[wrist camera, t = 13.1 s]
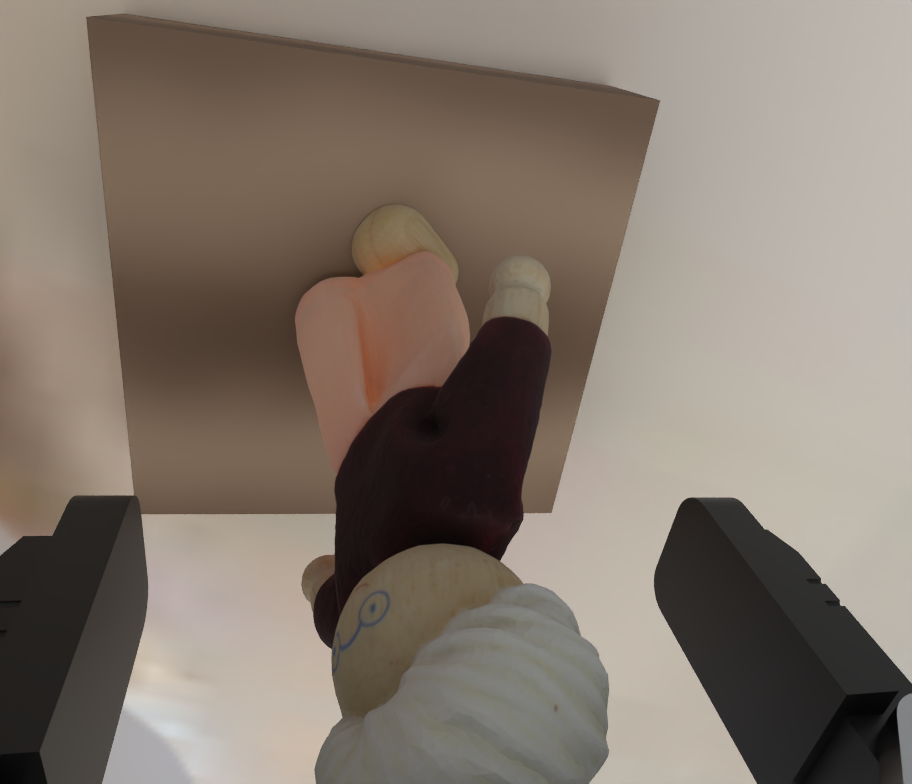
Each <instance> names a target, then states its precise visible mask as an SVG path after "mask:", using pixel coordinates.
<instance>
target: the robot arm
mask: <svg viewBox="0 0 912 784" xmlns="http://www.w3.org/2000/svg"><path fill="white" fill-rule="evenodd" d="M654 590H655V596H656V600H657V603H658V606H659V608H660V610H661V612H662V614H663V616H664V618H665V619H666V621H667V623H668V625H669V627H670V628H671V630H672V632H673V634H674V636H675V637H676V639H677V641H678V643H679V644H680V646H681V648H682V650H683V652H684V653H685V655H686V657H687V659H688V661H689V662H690V664H691V666H692V668H693V670H694V671H695V673H696V675H697V677H698V678H699V680H700V682H701V684H702V686H703V687H704V689H705V691H706V693H707V695H708V696H709V698H710V700H711V702H712V704H713V705H714V707H715V709H716V711H717V712H718V714H719V716H720V718H721V720H722V721H723V723H724V725H725V727H726V729H727V730H728V732H729V734H730V736H731V738H732V739H733V741H734V743H735V745H736V746H737V748H738V750H739V752H740V754H741V755H742V757H743V759H744V761H745V763H746V764H747V766H748V768H749V770H750V772H751V773H752V775H753V777H754V779H755V780H756V782H757V784H912V684H911V682H910V681H909V680H908V679H907V678H906V677H905V675H904V674H903V673H902V672H901V671H900V670H899V669H898V667H897V666H896V665H895V664H894V663H893V662H892V660H891V659H890V658H889V657H888V656H887V655H886V653H885V652H884V651H883V650H882V649H881V648H880V646H879V645H878V644H877V643H876V642H875V641H874V640H873V638H872V637H871V636H870V635H869V634H868V633H867V631H866V630H865V629H864V628H863V627H862V626H861V624H860V623H859V622H858V621H857V620H856V619H855V617H854V616H853V615H852V614H851V613H850V612H849V610H848V609H847V608H846V607H845V606H840V603H839V602H840V600H839V599H838V598H837V597H836V595H835V594H834V593H833V592H832V591H831V590H830V588H829V587H828V586H827V585H826V584H822V583H821V578H820V577H819V576H818V575H817V573H816V572H815V571H814V570H813V569H812V568H811V566H810V565H809V564H808V563H807V562H806V561H805V559H804V558H803V557H802V556H801V555H800V554H799V552H797V551H796V550H795V549H793V548H792V547H790V546H789V545H788V544H786V543H785V542H784V541H782V540H781V539H779V538H778V537H777V536H775V535H774V534H773V533H771V532H770V531H769V530H765V529H764V528H763V527H762V526H761V525H760V523H759V522H758V521H757V520H756V519H755V517H754V516H753V515H752V514H751V513H750V512H749V510H748V509H747V508H746V507H745V506H744V504H743V503H742V502H741V501H739V500H738V499H735V498H687V499H686V500H684V501H683V502H682V503H681V505H680V507H679V509H678V511H677V514H676V517H675V519H674V522H673V524H672V527H671V530H670V532H669V535H668V538H667V540H666V543H665V546H664V548H663V551H662V554H661V556H660V559H659V562H658V564H657V567H656V570H655V575H654ZM147 600H148V577H147V567H146V557H145V548H144V538H143V528H142V518H141V509H140V503H139V500H138V498H137V496H74V497H72V498H71V500H70V501H69V503H68V504H67V507H66V509H65V511H64V513H63V515H62V517H61V519H60V521H59V523H58V525H57V527H56V529H55V532H54V534H53V536H23V537H22V538H21V539H20V540H18V541H17V542H16V543H15V544H14V545H12V546H11V547H10V548H9V549H8V550H7V551H5V552H4V553H3V554H2V555H1V556H0V784H102V781H103V777H104V773H105V770H106V766H107V762H108V758H109V755H110V751H111V747H112V744H113V740H114V736H115V732H116V728H117V725H118V721H119V717H120V714H121V710H122V706H123V702H124V699H125V695H126V691H127V687H128V684H129V680H130V676H131V673H132V669H133V665H134V661H135V658H136V654H137V650H138V646H139V643H140V639H141V635H142V631H143V627H144V623H145V617H146V610H147Z"/></svg>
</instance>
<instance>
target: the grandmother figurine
mask: <svg viewBox="0 0 912 784" xmlns="http://www.w3.org/2000/svg"><path fill="white" fill-rule="evenodd" d="M352 256H353V260H354V263H355V265H356V267H357V268H358V270H359V271H360V272H361V273H362V274H363V276H362V277H360V278H357V277H334V278H328V279H326V280H323V281H320V282H319V283H317V284H316V285H315V286H313V287H312V288H311V289H310V290H309V291H307V292H306V293H305V294H304V295H303V297H302V299H301V300H300V302H299V305H298V308H297V310H296V314H295V325H296V334H297V344H298V348H299V352H300V356H301V360H302V364H303V368H304V372H305V376H306V380H307V383H308V387H309V390H310V393H311V396H312V399H313V402H314V405H315V408H316V412H317V417H318V422H319V428H320V431H321V434H322V438H323V441H324V444H325V448H326V451H327V455H328V457H329V460H330V463H331V465H332V467H333V470H334V472H335V474H336V479H335V486H334V493H335V500H336V526H335V530H336V533H335V555H324V556H321V557H318V558H316V559H315V560H313V561H312V562H311V563H310V564H309V565H308V566H307V567H306V569H305V571H304V573H303V576H302V584H301V585H302V589H303V594H304V595H305V597H306V599H307V600H308V601H309V602H310V603H311V607H312V611H313V617H314V623H315V627H316V630H317V632H318V635H319V637H320V639H321V640H322V641H323V642H324V643H325V644H326V645H327V646H328V647H329V648H331V649H332V676H333V682H334V687H335V692H336V696H337V700H338V703H339V706H340V709H341V713H342V717H343V718H342V719H341V720H340V721H339V722H338V723H337V724H336V725H335V726H334V727H333V728H332V730H331V732H330V734H329V736H328V737H327V738H326V740H325V742H324V744H323V745H322V747H321V750H320V753H319V756H318V759H317V762H316V765H315V778H316V784H589V783H590V781H591V780H592V779H593V777H594V776H595V775H596V774H597V772H598V771H599V769H600V768H601V767H602V765H603V764H604V762H605V761H606V759H607V757H608V754H609V749H608V745H607V741H606V734H607V730H608V720H607V703H608V695H609V683H608V674H607V672H606V670H605V668H604V666H603V665H602V663H601V661H600V659H599V654H598V652H597V649H596V648H595V647H594V646H593V645H592V644H591V643H590V642H589V641H587V640H586V639H584V638H583V637H581V634H580V631H579V627H578V623H577V621H576V619H575V616H574V614H573V611H572V610H571V609H570V608H569V607H568V605H567V604H566V603H565V602H564V601H563V600H562V599H560V598H559V597H558V596H557V595H556V594H555V593H554V592H553V591H551V590H549V589H547V588H544V587H542V586H539V585H536V584H523V583H522V581H521V580H520V579H519V578H518V577H517V576H516V575H515V574H514V573H513V572H512V571H511V570H510V569H509V568H508V567H506V566H505V565H504V564H503V563H501V562H500V560H501V558H502V556H503V555H504V553H505V551H506V548H507V546H508V544H509V543H510V541H511V539H512V538H513V537H514V535H515V534H516V533H517V531H518V530H519V527H520V525H521V523H522V521H523V513H524V512H523V503H522V499H521V495H522V485H523V480H524V476H525V473H526V470H527V465H528V461H529V458H530V455H531V451H532V447H533V442H534V438H535V434H536V429H537V426H538V423H539V417H540V409H541V406H542V400H543V394H544V389H545V383H546V379H547V375H548V372H549V366H550V360H551V353H552V350H551V344H550V340H549V338H548V327H549V310H548V308H547V305H546V303H547V301H548V299H549V295H550V290H551V283H550V277H549V274H548V272H547V271H546V269H545V268H544V266H543V265H542V264H541V263H540V262H539V261H537V260H536V259H534V258H532V257H530V256H524V255H515V256H510V257H507V258H505V259H504V260H502V261H501V262H500V263H499V264H498V265H497V266H496V267H495V268H494V270H493V272H492V274H491V276H490V279H489V286H488V289H489V297H490V299H489V300H488V302H487V304H486V307H485V311H484V315H483V321H482V327H481V328H480V330H479V331H478V333H477V335H476V337H475V339H474V340H473V341H472V342H471V343H470V330H469V321H468V317H467V313H466V311H465V308H464V305H463V303H462V300H461V297H460V295H459V293H458V290H457V288H456V285H455V284H456V282H457V279H458V273H459V269H458V264H457V262H456V259H455V258H454V256H453V255H452V253H451V251H450V250H449V249H448V248H447V246H446V245H445V244H444V242H443V241H442V240H441V238H440V237H439V236H438V235H437V233H436V232H435V231H434V229H433V228H432V227H431V225H430V224H429V223H428V222H427V221H426V219H425V218H424V217H423V216H422V215H421V214H420V213H419V212H417V211H416V210H414V209H413V208H411V207H407V206H404V205H401V204H397V205H396V204H390V205H385V206H382V207H380V208H378V209H376V210H374V211H373V212H372V213H371V214H369V215H368V216H367V217H366V218H365V219H364V220H363V222H362V223H361V224H360V225H359V227H358V228H357V229H356V231H355V234H354V236H353V240H352ZM469 344H470V345H469Z"/></svg>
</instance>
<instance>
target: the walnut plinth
mask: <svg viewBox="0 0 912 784" xmlns="http://www.w3.org/2000/svg"><path fill="white" fill-rule="evenodd" d="M86 18H87V28H88V38H89V48H90V58H91V68H92V78H93V88H94V98H95V108H96V118H97V128H98V138H99V148H100V158H101V168H102V178H103V188H104V198H105V208H106V218H107V228H108V238H109V248H110V258H111V268H112V278H113V288H114V298H115V308H116V318H117V328H118V338H119V348H120V358H121V368H122V378H123V388H124V398H125V408H126V418H127V428H128V437H129V447H130V457H131V467H132V477H133V487H134V496H137V498H138V500H139V503H140V509H141V514H336V500H335V493H334V486H335V479H336V474H335V472H334V470H333V467H332V465H331V463H330V460H329V457H328V455H327V451H326V448H325V444H324V441H323V438H322V434H321V431H320V428H319V422H318V417H317V412H316V408H315V405H314V402H313V399H312V396H311V393H310V390H309V387H308V383H307V380H306V376H305V372H304V368H303V364H302V360H301V356H300V352H299V348H298V344H297V334H296V325H295V314H296V310H297V308H298V305H299V302H300V300H301V299H302V297H303V295H304V294H305V293H306V292H307V291H309V290H310V289H311V288H312V287H313V286H315V285H316V284H317V283H319V282H320V281H323V280H326V279H328V278H334V277H357V278H360V277H362V276H363V274H362V273H361V272H360V271H359V270H358V268H357V267H356V265H355V263H354V260H353V256H352V240H353V236H354V234H355V231H356V229H357V228H358V227H359V225H360V224H361V223H362V222H363V220H364V219H365V218H366V217H367V216H368V215H369V214H371V213H372V212H373V211H374V210H376V209H378V208H380V207H382V206H385V205H390V204H396V205H397V204H401V205H404V206H407V207H411V208H413V209H414V210H416V211H417V212H419V213H420V214H421V215H422V216H423V217H424V218H425V219H426V221H427V222H428V223H429V224H430V225H431V227H432V228H433V229H434V231H435V232H436V233H437V235H438V236H439V237H440V238H441V240H442V241H443V242H444V244H445V245H446V246H447V248H448V249H449V250H450V251H451V253H452V255H453V256H454V258H455V259H456V262H457V264H458V269H459V273H458V279H457V282H456V284H455V285H456V288H457V290H458V293H459V295H460V297H461V300H462V303H463V305H464V308H465V311H466V313H467V317H468V321H469V330H470V343H471V342H472V341H473V340H474V339H475V337H476V335H477V333H478V331H479V330H480V328H481V327H482V321H483V315H484V311H485V307H486V304H487V302H488V300H489V299H490V297H489V289H488V286H489V279H490V276H491V274H492V272H493V270H494V268H495V267H496V266H497V265H498V264H499V263H500V262H501V261H502V260H504V259H505V258H507V257H510V256H515V255H524V256H530V257H532V258H534V259H536V260H537V261H539V262H540V263H541V264H542V265H543V266H544V268H545V269H546V271H547V272H548V274H549V277H550V283H551V290H550V295H549V299H548V301H547V303H546V305H547V308H548V310H549V327H548V338H549V340H550V344H551V350H552V353H551V360H550V366H549V372H548V375H547V379H546V383H545V389H544V394H543V400H542V406H541V409H540V417H539V423H538V426H537V429H536V434H535V438H534V442H533V447H532V451H531V455H530V458H529V461H528V465H527V470H526V473H525V476H524V480H523V485H522V495H521V499H522V503H523V512H524V513H551V512H552V509H553V505H554V501H555V497H556V493H557V490H558V486H559V482H560V478H561V474H562V471H563V467H564V463H565V459H566V455H567V452H568V448H569V444H570V440H571V436H572V433H573V429H574V425H575V421H576V417H577V414H578V410H579V406H580V402H581V398H582V395H583V391H584V387H585V383H586V379H587V376H588V372H589V368H590V364H591V360H592V357H593V353H594V349H595V345H596V341H597V338H598V334H599V330H600V326H601V322H602V319H603V315H604V311H605V307H606V303H607V300H608V296H609V292H610V288H611V284H612V281H613V277H614V273H615V269H616V265H617V262H618V258H619V254H620V250H621V246H622V243H623V239H624V235H625V231H626V228H627V224H628V220H629V216H630V212H631V209H632V205H633V201H634V197H635V193H636V190H637V186H638V182H639V178H640V174H641V171H642V167H643V163H644V159H645V155H646V152H647V148H648V144H649V140H650V136H651V133H652V129H653V125H654V121H655V117H656V114H657V110H658V106H659V102H660V101H659V100H656V99H653V98H649V97H646V96H643V95H639V94H636V93H632V92H629V91H626V90H622V89H619V88H616V87H612V86H606V85H600V84H593V83H586V82H579V81H573V80H566V79H559V78H552V77H546V76H539V75H532V74H525V73H519V72H512V71H505V70H499V69H492V68H485V67H478V66H472V65H465V64H458V63H451V62H445V61H438V60H431V59H424V58H418V57H411V56H404V55H398V54H391V53H384V52H377V51H371V50H364V49H357V48H350V47H344V46H337V45H330V44H323V43H317V42H310V41H303V40H297V39H290V38H283V37H276V36H270V35H263V34H256V33H249V32H243V31H236V30H229V29H222V28H216V27H209V26H202V25H196V24H189V23H182V22H175V21H169V20H162V19H155V18H148V17H142V16H135V15H128V14H116V15H104V16H92V17H86ZM469 345H470V344H469Z"/></svg>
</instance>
